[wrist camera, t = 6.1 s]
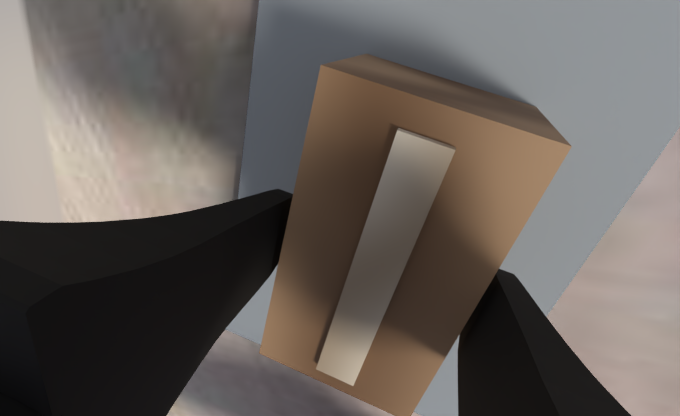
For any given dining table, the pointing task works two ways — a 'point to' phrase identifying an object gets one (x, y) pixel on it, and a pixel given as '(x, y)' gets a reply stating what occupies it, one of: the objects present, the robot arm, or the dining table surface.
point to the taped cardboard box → (399, 224)
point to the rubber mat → (495, 77)
